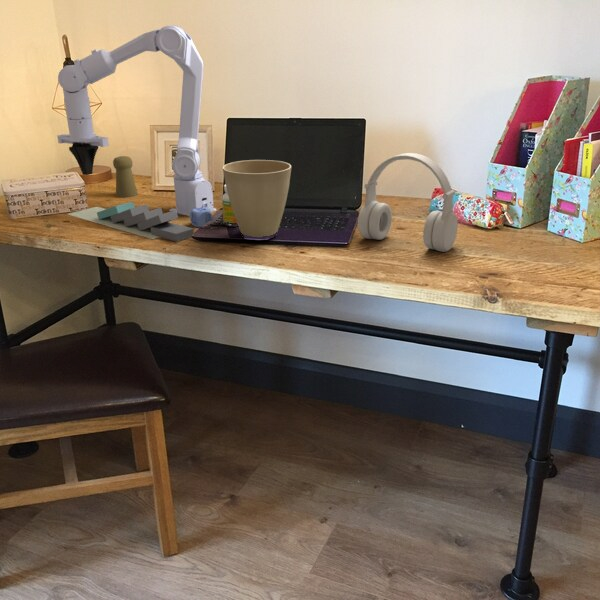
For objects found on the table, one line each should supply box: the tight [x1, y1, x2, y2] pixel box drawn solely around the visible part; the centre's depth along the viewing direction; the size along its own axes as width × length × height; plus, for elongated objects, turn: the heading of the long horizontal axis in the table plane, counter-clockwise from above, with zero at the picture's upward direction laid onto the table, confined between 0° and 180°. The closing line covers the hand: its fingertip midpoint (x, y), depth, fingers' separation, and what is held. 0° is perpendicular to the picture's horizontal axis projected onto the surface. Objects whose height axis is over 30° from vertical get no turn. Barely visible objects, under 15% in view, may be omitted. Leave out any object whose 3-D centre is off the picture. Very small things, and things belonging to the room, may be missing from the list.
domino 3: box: [123, 207, 164, 227], centre depth 155 cm, size 2×5×9 cm
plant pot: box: [222, 159, 292, 237], centre depth 146 cm, size 15×15×16 cm
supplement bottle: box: [221, 183, 237, 223], centre depth 156 cm, size 5×5×10 cm
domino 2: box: [110, 204, 150, 223], centre depth 158 cm, size 2×5×9 cm
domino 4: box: [137, 210, 179, 231], centre depth 152 cm, size 2×5×9 cm
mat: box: [66, 206, 159, 240], centre depth 161 cm, size 34×9×1 cm, turn 50°
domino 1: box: [97, 201, 136, 220], centre depth 162 cm, size 2×5×9 cm
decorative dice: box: [189, 208, 214, 228], centre depth 157 cm, size 4×4×4 cm
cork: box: [112, 155, 138, 199], centre depth 184 cm, size 6×6×11 cm
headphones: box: [357, 152, 459, 253], centre depth 139 cm, size 20×8×19 cm, turn 56°
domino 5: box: [151, 221, 195, 242], centre depth 150 cm, size 2×5×9 cm
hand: (87, 174), depth 165 cm, fingers closed
